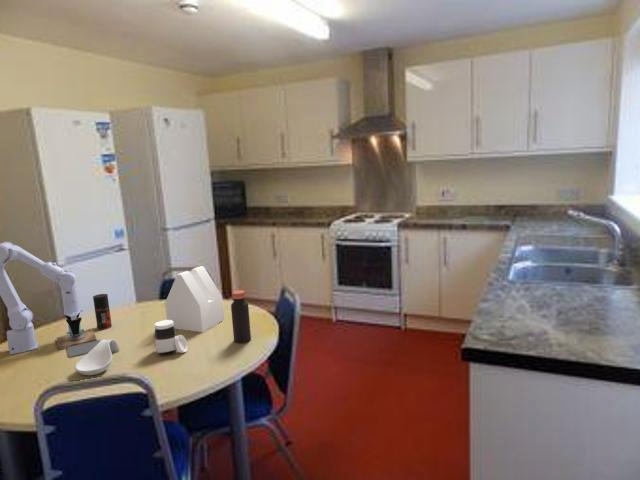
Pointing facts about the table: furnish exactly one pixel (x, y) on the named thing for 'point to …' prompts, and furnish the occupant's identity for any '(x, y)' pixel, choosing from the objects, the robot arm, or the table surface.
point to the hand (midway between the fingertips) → (75, 332)
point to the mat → (81, 348)
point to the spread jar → (168, 339)
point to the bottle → (240, 317)
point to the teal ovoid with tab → (72, 333)
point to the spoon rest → (97, 358)
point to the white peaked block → (194, 301)
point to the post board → (75, 339)
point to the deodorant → (102, 311)
